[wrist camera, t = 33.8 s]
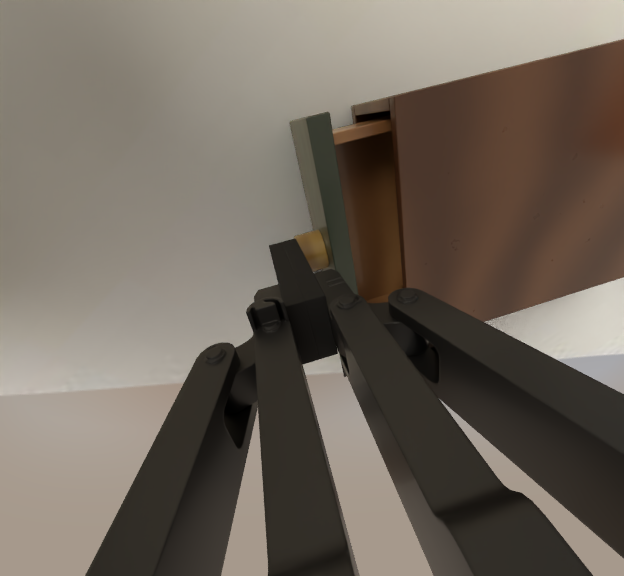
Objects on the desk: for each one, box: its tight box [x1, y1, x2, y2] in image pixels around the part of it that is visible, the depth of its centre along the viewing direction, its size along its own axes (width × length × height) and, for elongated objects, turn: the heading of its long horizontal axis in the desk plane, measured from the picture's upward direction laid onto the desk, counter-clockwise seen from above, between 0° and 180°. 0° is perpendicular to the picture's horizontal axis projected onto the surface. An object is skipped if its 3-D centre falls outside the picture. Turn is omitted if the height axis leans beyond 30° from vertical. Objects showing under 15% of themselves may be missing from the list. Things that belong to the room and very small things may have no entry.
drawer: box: [290, 112, 403, 303], centre depth 18 cm, size 17×13×5 cm
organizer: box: [351, 39, 624, 322], centre depth 18 cm, size 15×13×5 cm
